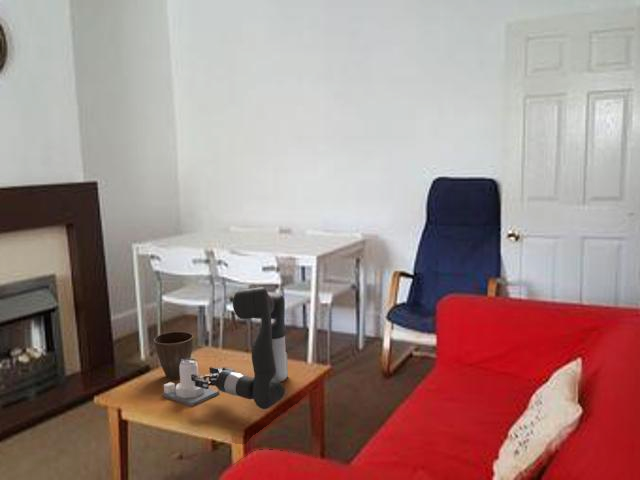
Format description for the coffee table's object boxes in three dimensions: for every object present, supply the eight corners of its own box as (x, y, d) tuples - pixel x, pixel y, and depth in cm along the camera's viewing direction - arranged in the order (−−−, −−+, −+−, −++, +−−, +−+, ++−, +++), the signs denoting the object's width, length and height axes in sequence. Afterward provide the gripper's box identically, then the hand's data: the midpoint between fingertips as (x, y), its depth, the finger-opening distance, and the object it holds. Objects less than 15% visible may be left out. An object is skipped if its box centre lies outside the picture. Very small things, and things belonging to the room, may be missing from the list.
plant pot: (186, 384, 234) (183, 344, 232) (149, 382, 237) (147, 342, 235) (201, 370, 249) (199, 332, 246) (166, 368, 252) (164, 331, 249)
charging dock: (189, 384, 235) (189, 374, 234) (219, 394, 225) (218, 383, 224) (162, 396, 224) (161, 385, 224) (191, 406, 215) (191, 395, 214)
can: (197, 395, 221) (195, 363, 219) (179, 396, 220) (177, 364, 219) (200, 388, 227) (198, 357, 225) (182, 389, 227) (180, 358, 225)
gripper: (247, 366, 215) (215, 357, 224) (217, 379, 203) (184, 369, 213) (248, 386, 216) (216, 377, 226) (218, 400, 205) (186, 389, 214)
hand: (201, 373), depth 219 cm, fingers open, 8 cm apart
